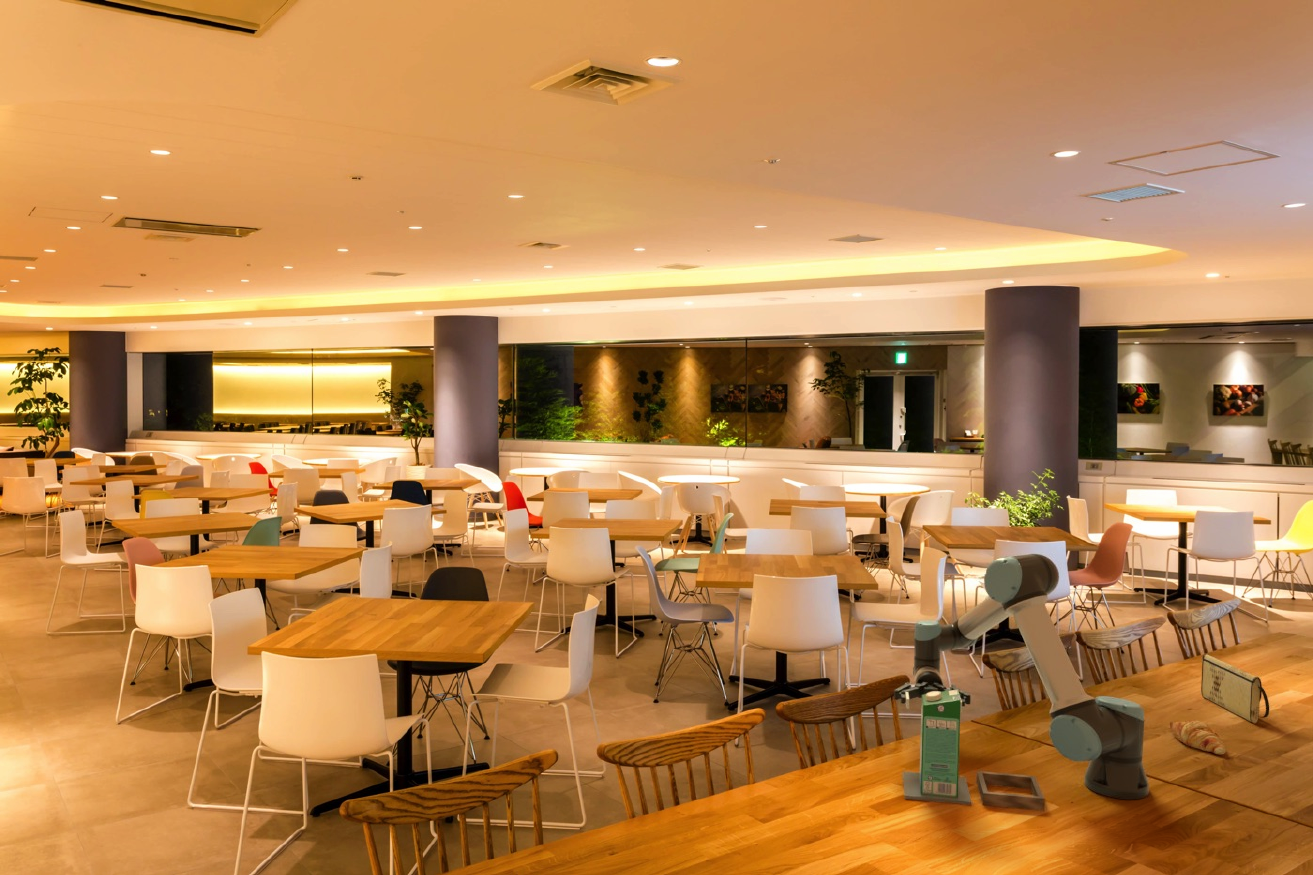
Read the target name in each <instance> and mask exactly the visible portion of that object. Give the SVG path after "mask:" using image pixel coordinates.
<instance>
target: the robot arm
mask: <svg viewBox="0 0 1313 875" xmlns="http://www.w3.org/2000/svg"><path fill="white" fill-rule="evenodd" d="M1059 580H1060V576H1059V570H1058V568H1057V566H1056V563H1054V562H1053V560H1052V559H1050V558H1049V557H1047V556H1046V555H1043V554H1038V553H1030V554H1023V555H1021V554H1020V555H1012V556H1011V555H1010V556H1009V555H1008V556H1007V555H1006V556H1004V557H1000V558H997V559H995V560H993V561H992V562H991V563H989V565H988V567H987V568H986V570H985V574H984V577H983V582H984V583H983V584H984V590H985V591H986V593H987V596H988V597H987V598H986V599H984V600H983V601H982V602H980V603H979V604H976V606H974V607H973V608H972V609H970V610H969V611H967V612H966V613H965V614H963V615H962V616H961V617H960V618H958V619H956V620H955V621H953V622H952V623H950V624H948V623H947V624H944V625H941V623H940V622H938V621H937V620H927V619H924V620H922V619H921V620H918V621H917V622H915V624H914V634H913V638H914V642H913V643H914V644H913V646H914V650H913V652H914V653H913V654H914V656H913V667H912V673H913V674H912V675H913V677H914V681H915V682H914V683H915V685H912V684H911V683H910V682H909V681H907V682H905V683H904V684H903V685H901V686H898V688H896V689H894V690H893V693H894V694H893V695H894V696H893V699H894V701H895V700H896V701H898V700H900V704H905V709H907V710H910V700H913V699H916V698H918V699H922V695H924V694H927V693H929V692H932V691H940V692H943V691H949V690H956V689H958V691H959V695H960V699H961V711H960V713H963V707H966V705H968V706H969V705H971V701H972V700H971V696H972V695H971V694H969V693H967V692H965V691H963V690H961V689H960V688H959V687H958V688H957V686H956V685H954V684H952V685H950V686H949V687H946V686H945V685H944V683H943V679H942V676H941V652H947V651H953V650H960V649H966V648H969V647H972V646H974V645H976V643H977V641H978V639H979V637H981V636H982V635H984V634H985V633H987V632H988V631H990V630H992V629H993V628H995V627H996V626H997V625H999V624H1000V623H1002V622H1003V621H1005V620H1006V619H1007V618H1009V617H1010V616H1012V617H1013V618H1014V621H1015V623H1016V625H1017V628H1018V629H1019V633H1020V635H1021V636H1022V638H1023V641H1024V643H1025V645H1026V648H1027V650H1028V653H1029V655H1030V658H1031V659H1032V661H1033V664H1034V666H1035V668H1036V670H1037V673H1038V675H1039V677H1040V680H1041V682H1042V684H1043V686H1044V690H1045V692H1046V693H1047V695H1048V698H1049V699H1050V703H1051V708H1050V710H1049V715H1050V717H1051V719H1052V720H1051V722H1050V724H1049V728H1050V729H1048V733H1049V738H1050V741H1051V743H1052V745H1053V746H1054V748H1055V749H1056V751H1057V752H1058V753H1059V754H1060V755H1062V757H1063V758H1067V759H1069V761H1073V762H1080V763H1081V762H1089V763H1088V766H1087V768H1086V770H1085V773H1084V785H1085V786H1086V787H1087V788H1088V789H1089V790H1091V791H1092V792H1095V793H1097V794H1099V795H1102V796H1105V797H1109V798H1114V799H1119V800H1141V799H1144V798H1147V797H1148V795H1149V789H1150V784H1149V780H1148V776H1147V774H1146V770H1145V768H1144V764H1143V753H1144V752H1143V751H1144V750H1143V749H1144V734H1145V732H1144V731H1145V722H1146V720H1145V710H1144V708H1143V707H1142V706H1141V705H1140V704H1139V703H1137V702H1134V701H1131V700H1128V699H1124V698H1121V697H1113V696H1106V695H1105V696H1104V695H1101V696H1096V697H1093V696H1092V695H1089V694H1087V693H1086V692H1085V690H1084V687H1083V685H1082V683H1081V680H1080V679H1079V677H1078V674H1077V672H1076V670H1075V668H1074V665H1073V663H1072V661H1071V659H1070V657H1069V654H1068V653H1067V650H1066V649H1065V646H1064V643H1063V642H1062V639H1061V637H1060V635H1059V632H1058V631H1057V628H1056V626H1055V623H1054V622H1053V620H1052V617H1051V615H1050V614H1049V613H1050V612H1049V611H1048V609H1047V606H1046V603H1047V601H1048V598H1049V597H1048V596H1049V595H1050V594H1051V593H1053V592H1054V591H1055V590H1056V588H1057V587H1058V584H1059Z"/></svg>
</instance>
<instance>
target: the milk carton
mask: <svg viewBox="0 0 1313 875" xmlns="http://www.w3.org/2000/svg"><path fill="white" fill-rule="evenodd" d="M958 689H959V688H958ZM958 689H956V690H949V691H943V692H940V691H932V692H929V693H927V694H924V695H922V698H921V706H920V707H921V709H920V710H921V711H920V713H921V715H920V716H921V717H920V747H919V773H920V776H919V781H920V793H921V794H930V795H939V796H949V797H958V776H960V775H959V773H960V771H959V770H960V769H959V768H960V743H961V742H960V739H961V738H960V736H961V712H960V711H961V699H960V695H959V691H958Z"/></svg>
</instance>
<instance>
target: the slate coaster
mask: <svg viewBox="0 0 1313 875" xmlns="http://www.w3.org/2000/svg"><path fill="white" fill-rule="evenodd" d="M919 776H920V772H917V771H904V770H902V781H903V782H902V783H903V791H904V792H903V793H904V799H906V800H914V801H915V800H916V801H926V802H934V801H935V803H936V802H937V803H944V802H950V803H949V804H955V803H958V805H965V804H966V805H967V806H972V799H971V798H972V797H971V794H970V791H969V787H968V782H967V780H966V779H967V778H966V776H960V775H958V797H949V796H939V795H930V794H921V793H920V781H919ZM959 803H960V804H959ZM966 805H965V806H966Z"/></svg>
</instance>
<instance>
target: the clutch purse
mask: <svg viewBox="0 0 1313 875" xmlns="http://www.w3.org/2000/svg"><path fill="white" fill-rule="evenodd" d="M1201 664H1202V666H1201V682H1200V683H1201V686H1200V690H1201V692H1200V693H1201V696H1202V698H1204V699H1206V700H1208V701H1211V702H1212V703H1215V704H1216V705H1218V706H1220V707H1222V708H1224V709H1225V710H1227V711H1229V712H1232V713H1233V714H1235V715H1237V716H1239V717H1240V718H1243V719H1245V720H1247V721H1248V722H1250V723H1252V724H1255V725H1256V724H1257V722H1258V721H1259V718H1262V719H1263V718H1264V719H1266V718H1268V716H1269V714H1270V703H1269V699H1268V695H1267V692H1266V691H1265V688H1264V687H1262V686H1263V685H1262V679H1261V678H1260V676H1259V677H1258V676H1256V675H1253V674H1252V673H1249V672H1246V671H1245V670H1242V669H1241V668H1238V667H1236V666H1234V665H1231V664H1229V663H1228V662H1227V663H1226V662H1225V661H1223V660H1220V659H1218V658H1217V657H1214V656H1212V655H1209V654H1207V653H1204V654H1203V655H1202V663H1201ZM1262 695H1263V699H1264V704H1265V705H1264V706H1265V713H1264V714H1263V716H1260V702H1261V699H1262Z"/></svg>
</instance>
